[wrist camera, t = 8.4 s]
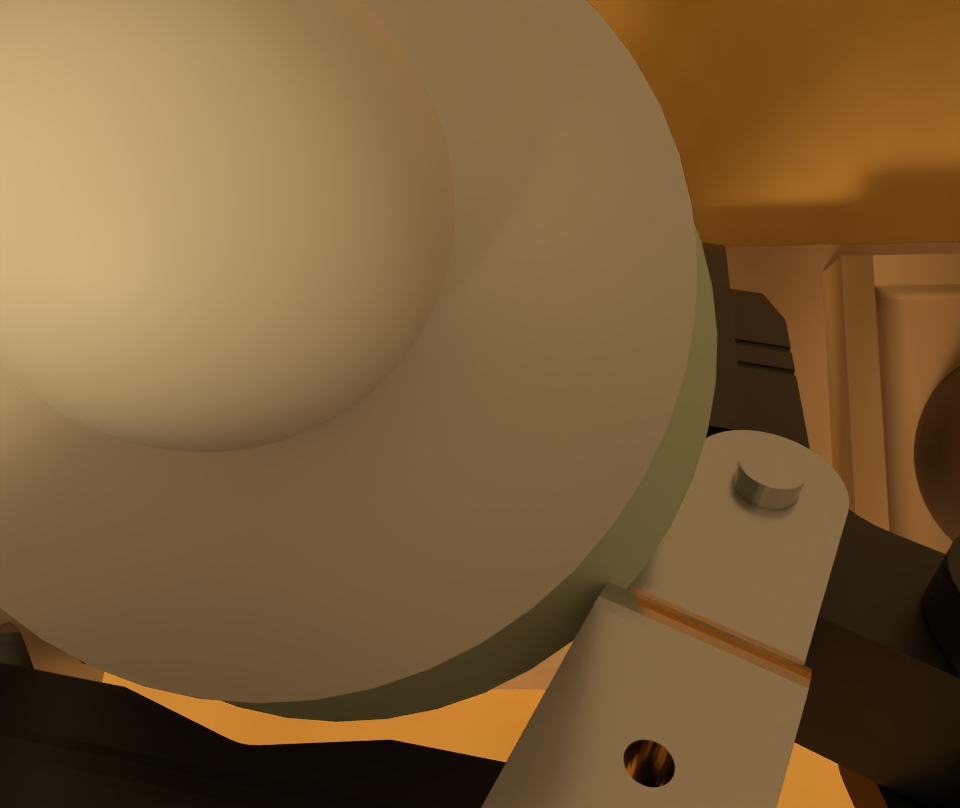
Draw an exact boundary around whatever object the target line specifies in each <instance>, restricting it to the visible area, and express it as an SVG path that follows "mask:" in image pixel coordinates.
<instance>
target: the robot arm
mask: <svg viewBox="0 0 960 808" xmlns="http://www.w3.org/2000/svg"><path fill="white" fill-rule="evenodd" d="M702 246H703V251H704V255H705V259H706V263H707V267H708V271H709V275H710V279H711V283H712V289H713V298H714V308H715V317H716V327H717V360H716V385H715V391H714V397H713V403H712V409H711V415H710V420H709V426H708V432H707V435H706V439H705V442H704V445H703V448H702V451H701V455H700V458H699V461H698V464H697V468H696V471H695V474H694V477H693V480H692V482H691V484H690V487H689V489H688V491H687V493H686V495H685V497H684V499H683V502H682V504H681V506H680V508H679V510H678V512H677V514H676V517H675V519H674V521H673V523H672V525H671V527H670V528H669V530H668V531H667V533H666V535H665V536H664V538H663V539H662V541H661V542H660V544H659V545H658V547H657V549H656V550H655V552H654V553H653V555H652V556H651V558H650V559H649V561H648V563H647V564H646V566H645V567H644V569H643V570H642V571H641V572H640V573H639V574H638V576H637V577H636V578H635V579H634V580H633V582H632V583H631V584H630V585H629V586H628V587H627V589H625V588H623V587H620V586H617V585H615V584H612V583H608V584H607V585H606V586H605V587H604V589H603V590H602V592H601V593H600V595H599V596H598V598H597V600H596V601H595V603H594V605H593V607H592V608H591V610H590V612H589V614H588V616H587V618H586V619H585V621H584V623H583V625H582V627H581V628H580V630H579V632H578V634H577V636H576V637H575V639H574V641H573V643H572V645H571V646H570V648H569V650H568V652H567V654H566V655H565V657H564V659H563V661H562V663H561V664H560V666H559V668H558V670H557V672H556V673H555V675H554V677H553V679H552V681H551V682H550V684H549V686H548V688H547V690H546V691H545V693H544V695H543V697H542V699H541V700H540V702H539V704H538V706H537V708H536V710H535V711H534V713H533V715H532V717H531V719H530V720H529V722H528V724H527V726H526V728H525V729H524V731H523V733H522V735H521V737H520V738H519V740H518V742H517V744H516V746H515V747H514V749H513V751H512V753H511V755H510V756H509V758H508V760H507V762H501V761H496V760H491V759H486V758H481V757H476V756H471V755H465V754H460V753H455V752H450V751H445V750H440V749H435V748H430V747H425V746H420V745H415V744H410V743H405V742H400V741H395V740H372V741H349V742H325V743H301V744H278V745H246V744H241V743H238V742H235V741H232V740H230V739H228V738H226V737H224V736H222V735H220V734H218V733H216V732H214V731H212V730H210V729H208V728H206V727H204V726H202V725H200V724H198V723H196V722H194V721H192V720H190V719H188V718H186V717H184V716H182V715H180V714H178V713H176V712H174V711H172V710H170V709H168V708H166V707H164V706H162V705H160V704H158V703H156V702H154V701H152V700H150V699H148V698H146V697H144V696H142V695H140V694H138V693H136V692H134V691H132V690H130V689H128V688H126V687H122V686H117V685H112V684H107V683H102V679H103V674H104V671H102V670H99V669H97V668H94V667H91V666H90V665H88V664H86V663H84V662H82V661H80V660H79V659H77V658H75V657H73V656H71V655H69V654H68V653H66V652H64V651H62V650H60V649H58V648H57V647H55V646H53V645H51V644H49V643H47V642H46V641H44V640H42V639H41V638H40V637H38V636H37V635H36V634H34V633H33V632H32V631H30V630H29V629H28V628H26V627H25V626H24V625H22V624H21V623H19V622H18V621H17V620H15V619H14V618H13V617H11V616H10V615H9V614H7V613H6V612H5V611H3V610H2V609H1V608H0V808H776V807H777V803H778V800H779V796H780V793H781V789H782V785H783V782H784V778H785V774H786V771H787V767H788V763H789V760H790V756H791V752H792V749H793V745H794V742H795V743H797V744H799V745H801V746H803V747H805V748H807V749H809V750H811V751H813V752H815V753H817V754H819V755H821V756H823V757H825V758H827V759H830V760H832V761H834V762H836V763H838V766H839V771H840V774H841V776H842V779H843V782H844V784H845V787H846V789H847V791H848V793H849V796H850V798H851V800H852V802H853V805H854V807H855V808H960V535H959V536H958V537H957V538H956V539H955V540H954V541H953V543H952V544H951V546H950V548H949V550H948V551H947V553H946V554H944V553H942V552H939V551H937V550H934V549H932V548H929V547H927V546H924V545H922V544H919V543H917V542H914V541H912V540H909V539H907V538H904V537H901V536H899V535H896V534H894V533H891V532H889V531H887V530H885V529H882V528H880V527H878V526H876V525H874V524H872V523H870V522H868V521H867V520H865V519H863V518H861V517H860V516H858V515H857V514H855V513H854V512H852V511H851V510H850V509H849V496H848V492H847V489H846V486H845V484H844V482H843V481H842V479H841V477H840V476H839V474H838V473H837V472H836V471H835V470H834V469H833V467H832V466H831V465H830V464H829V463H827V462H826V461H825V460H824V459H823V458H822V457H820V456H819V455H817V454H816V453H814V452H813V451H811V450H810V446H809V441H808V436H807V430H806V425H805V420H804V414H803V409H802V404H801V399H800V393H799V388H798V383H797V377H796V376H795V375H794V372H795V367H794V362H793V356H792V353H791V352H790V348H791V346H790V341H789V335H788V330H787V325H786V320H785V319H784V318H783V316H782V315H781V314H780V313H779V312H778V311H777V309H776V308H775V307H774V306H773V305H772V304H771V302H770V301H769V300H768V299H767V298H766V297H765V295H764V294H763V293H756V292H749V291H743V290H736V289H730V283H729V274H728V264H727V254H726V247H725V246H723V245H716V244H710V243H703V242H702Z"/></svg>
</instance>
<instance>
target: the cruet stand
mask: <svg viewBox="0 0 960 808" xmlns="http://www.w3.org/2000/svg"><path fill="white" fill-rule="evenodd" d="M726 254H727V264H728V274H729V283H730V289H736V290H743V291H749V292H756V293H763V294H764V295H765V297H766V298H767V299H768V300H769V301H770V302H771V304H772V305H773V306H774V307H775V308H776V309H777V311H778V312H779V313H780V314H781V315H782V316H783V318H784V319H785V320H786V325H787V330H788V335H789V341H790V346H791V348H790V352H791V353H792V356H793V362H794V367H795V372H794V375H795V376H796V377H797V383H798V388H799V393H800V399H801V404H802V409H803V414H804V420H805V425H806V430H807V436H808V441H809V446H810V450H811V451H813V452H814V453H816V454H817V455H819V456H820V457H822V458H823V459H824V460H825V461H826V462H827V463H829V464H830V465H831V466H832V467H833V469H834V470H835V471H836V472H837V473H838V474H839V476H840V477H841V479H842V481H843V482H844V484H845V486H846V489H847V492H848V496H849V509H850V510H851V511H852V512H854V513H855V514H857V515H858V516H860V517H861V518H863V519H865V520H867V521H868V522H870V523H872V524H874V525H876V526H878V527H880V528H882V529H885V530H887V531H889V532H891V533H894V534H896V535H899V536H901V537H904V538H907V539H909V540H912V541H914V542H917V543H919V544H922V545H924V546H927V547H929V548H932V549H934V550H937V551H939V552H942V553H944V554H946V553H947V551H948V550H949V548H950V546H951V544H952V543H953V541H952V540H951V539H950V538H949V537H948V536H947V535H946V534H945V533H944V532H943V531H942V530H941V528H940V527H939V526H938V524H937V523H936V522H935V520H934V519H933V517H932V515H931V514H930V512H929V510H928V508H927V507H926V505H925V502H924V500H923V498H922V495H921V493H920V490H919V486H918V483H917V479H916V475H915V467H914V440H915V433H916V429H917V425H918V422H919V418H920V415H921V413H922V411H923V409H924V406H925V404H926V402H927V401H928V399H929V398H930V396H931V394H932V393H933V391H934V390H935V389H936V388H937V386H938V385H939V384H940V383H941V382H942V380H943V379H945V378H946V377H947V376H948V375H949V374H950V373H951V372H952V371H953V370H955V369H956V368H958V367H959V366H960V242H928V243H879V244H830V245H781V246H732V247H726ZM573 641H574V640H573ZM573 641H572V642H571V643H569V644H568V645H566V646H565V647H563V648H562V649H560V650H559V651H557V652H556V653H554V654H553V655H552V656H550V657H549V658H547V659H546V660H544V661H543V662H541V663H540V664H538V665H537V666H535V667H534V668H533V669H531V670H529V671H527V672H525V673H523V674H521V675H519V676H517V677H515V678H513V679H511V680H509V681H507V682H505V683H503V684H501V685H499V686H497V687H495V688H493V689H547V688H548V686H549V684H550V682H551V681H552V679H553V677H554V675H555V673H556V672H557V670H558V668H559V666H560V664H561V663H562V661H563V659H564V657H565V655H566V654H567V652H568V650H569V648H570V646H571V645H572V643H573Z"/></svg>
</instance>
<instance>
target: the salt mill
mask: <svg viewBox="0 0 960 808" xmlns="http://www.w3.org/2000/svg"><path fill="white" fill-rule="evenodd" d="M716 360H717V327H716V317H715V308H714V298H713V289H712V283H711V279H710V275H709V271H708V267H707V263H706V259H705V255H704V251H703V246H702V242H701V239H700V237H699V234H698V231H697V229H696V226H695V224H694V221H693V212H692V204H691V200H690V196H689V192H688V188H687V184H686V179H685V175H684V171H683V167H682V163H681V159H680V155H679V152H678V149H677V147H676V144H675V141H674V139H673V136H672V134H671V131H670V129H669V126H668V124H667V121H666V119H665V116H664V114H663V111H662V109H661V106H660V103H659V102H658V100H657V98H656V96H655V95H654V93H653V91H652V89H651V87H650V86H649V84H648V82H647V80H646V79H645V77H644V75H643V73H642V71H641V70H640V68H639V66H638V64H637V63H636V61H635V59H634V57H633V56H632V55H631V53H630V52H629V51H628V49H627V48H626V47H625V46H624V44H623V43H622V42H621V40H620V39H619V38H618V36H617V35H616V34H615V32H614V31H613V30H612V28H611V27H610V26H609V24H608V23H607V22H606V20H605V19H604V18H603V16H602V15H601V14H600V13H599V12H598V11H597V10H596V9H595V8H594V7H593V6H592V5H591V4H590V3H589V2H588V1H587V0H0V608H1V609H2V610H3V611H5V612H6V613H7V614H9V615H10V616H11V617H13V618H14V619H15V620H17V621H18V622H19V623H21V624H22V625H24V626H25V627H26V628H28V629H29V630H30V631H32V632H33V633H34V634H36V635H37V636H38V637H40V638H41V639H42V640H44V641H46V642H47V643H49V644H51V645H53V646H55V647H57V648H58V649H60V650H62V651H64V652H66V653H68V654H69V655H71V656H73V657H75V658H77V659H79V660H80V661H82V662H84V663H86V664H88V665H90V666H91V667H94V668H97V669H99V670H102V671H105V672H107V673H110V674H113V675H115V676H118V677H121V678H123V679H126V680H129V681H131V682H134V683H137V684H139V685H142V686H145V687H149V688H154V689H158V690H163V691H167V692H172V693H176V694H181V695H185V696H190V697H194V698H199V699H210V700H221V701H224V702H226V703H229V704H232V705H234V706H237V707H241V708H246V709H250V710H255V711H259V712H264V713H268V714H273V715H277V716H282V717H286V718H298V719H310V720H323V721H335V722H338V721H356V720H374V719H388V718H393V717H398V716H403V715H409V714H414V713H419V712H424V711H429V710H434V709H438V708H441V707H444V706H447V705H450V704H453V703H456V702H459V701H462V700H465V699H468V698H470V697H473V696H476V695H479V694H482V693H485V692H487V691H489V690H491V689H493V688H495V687H497V686H499V685H501V684H503V683H505V682H507V681H509V680H511V679H513V678H515V677H517V676H519V675H521V674H523V673H525V672H527V671H529V670H531V669H533V668H534V667H535V666H537V665H538V664H540V663H541V662H543V661H544V660H546V659H547V658H549V657H550V656H552V655H553V654H554V653H556V652H557V651H559V650H560V649H562V648H563V647H565V646H566V645H568V644H569V643H571V642H572V641H573V640H574V639H575V637H576V636H577V634H578V632H579V630H580V628H581V627H582V625H583V623H584V621H585V619H586V618H587V616H588V614H589V612H590V610H591V608H592V607H593V605H594V603H595V601H596V600H597V598H598V596H599V595H600V593H601V592H602V590H603V589H604V587H605V586H606V585H607V584H608V583H612V584H615V585H617V586H620V587H623V588H625V589H627V587H628V586H629V585H630V584H631V583H632V582H633V580H634V579H635V578H636V577H637V576H638V574H639V573H640V572H641V571H642V570H643V569H644V567H645V566H646V564H647V563H648V561H649V559H650V558H651V556H652V555H653V553H654V552H655V550H656V549H657V547H658V545H659V544H660V542H661V541H662V539H663V538H664V536H665V535H666V533H667V531H668V530H669V528H670V527H671V525H672V523H673V521H674V519H675V517H676V514H677V512H678V510H679V508H680V506H681V504H682V502H683V499H684V497H685V495H686V493H687V491H688V489H689V487H690V484H691V482H692V480H693V477H694V474H695V471H696V468H697V464H698V461H699V458H700V455H701V451H702V448H703V445H704V442H705V439H706V435H707V432H708V426H709V420H710V415H711V409H712V403H713V397H714V391H715V385H716Z"/></svg>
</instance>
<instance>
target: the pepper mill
mask: <svg viewBox="0 0 960 808" xmlns="http://www.w3.org/2000/svg"><path fill="white" fill-rule="evenodd" d="M914 467H915V475H916V479H917V483H918V486H919V490H920V493H921V495H922V498H923V500H924V502H925V505H926V507H927V508H928V510H929V512H930V514H931V515H932V517H933V519H934V520H935V522H936V523H937V524H938V526H939V527H940V528H941V530H942V531H943V532H944V533H945V534H946V535H947V536H948V537H949V538H950V539H951V540H952V541H954V540H955V539H956V538H957V537H958V536H959V535H960V366H959V367H958V368H956V369H955V370H953V371H952V372H951V373H950V374H949V375H948V376H947V377H946V378H945V379H943V380H942V382H941V383H940V384H939V385H938V386H937V388H936V389H935V390H934V391H933V393H932V394H931V396H930V398H929V399H928V401H927V402H926V404H925V406H924V409H923V411H922V413H921V415H920V418H919V422H918V425H917V429H916V433H915V440H914Z"/></svg>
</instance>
